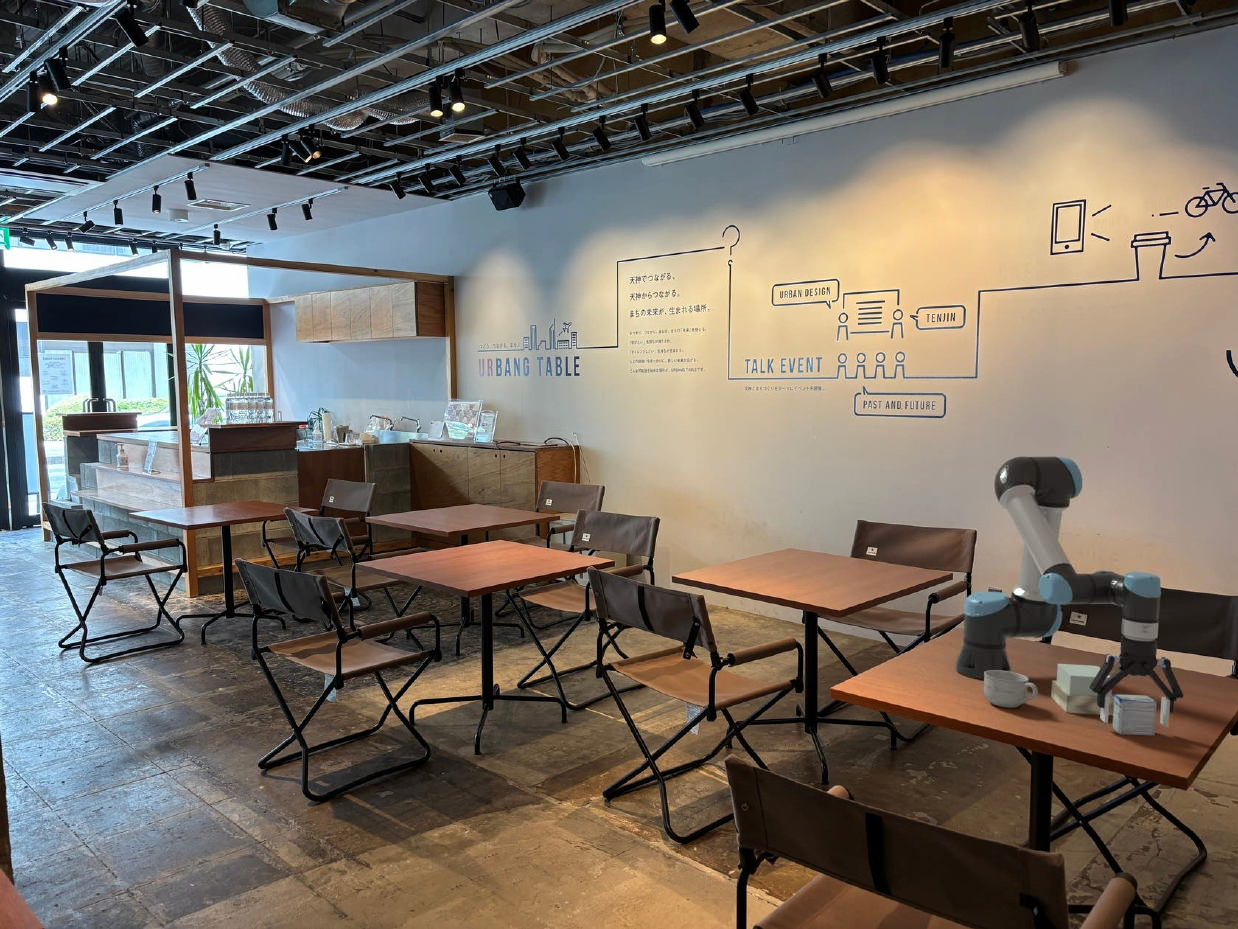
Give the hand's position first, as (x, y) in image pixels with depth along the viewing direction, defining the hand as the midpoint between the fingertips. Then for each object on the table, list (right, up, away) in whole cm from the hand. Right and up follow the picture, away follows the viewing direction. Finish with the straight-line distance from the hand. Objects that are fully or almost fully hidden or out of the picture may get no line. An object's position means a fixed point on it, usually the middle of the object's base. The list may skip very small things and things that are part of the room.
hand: (1133, 723), depth 212 cm
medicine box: (0, -3, 0) cm, 3 cm away
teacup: (-23, -1, +17) cm, 28 cm away
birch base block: (-3, -1, +18) cm, 18 cm away
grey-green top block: (-3, +4, +17) cm, 18 cm away
